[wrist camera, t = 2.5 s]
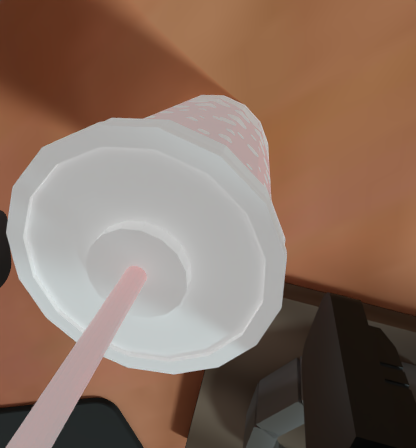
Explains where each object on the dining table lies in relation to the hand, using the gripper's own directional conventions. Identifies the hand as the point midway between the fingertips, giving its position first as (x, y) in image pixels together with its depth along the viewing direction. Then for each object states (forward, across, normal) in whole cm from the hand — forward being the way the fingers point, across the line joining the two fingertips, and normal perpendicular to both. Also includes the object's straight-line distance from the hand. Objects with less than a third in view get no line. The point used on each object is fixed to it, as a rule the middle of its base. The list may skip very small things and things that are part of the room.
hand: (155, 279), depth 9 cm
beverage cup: (+8, 0, -1) cm, 8 cm away
